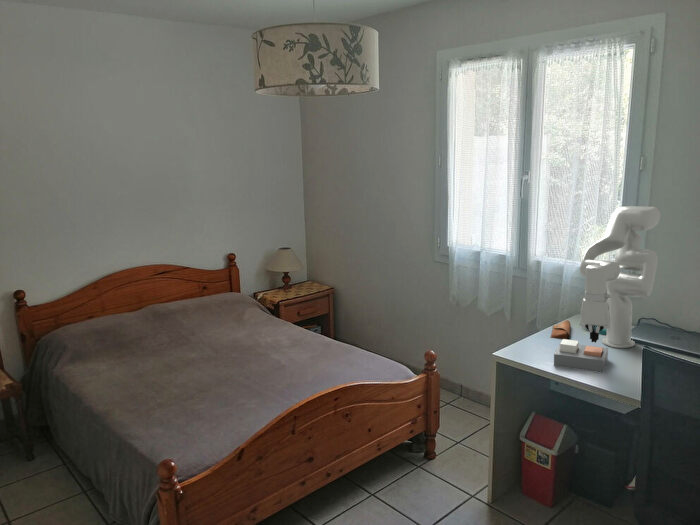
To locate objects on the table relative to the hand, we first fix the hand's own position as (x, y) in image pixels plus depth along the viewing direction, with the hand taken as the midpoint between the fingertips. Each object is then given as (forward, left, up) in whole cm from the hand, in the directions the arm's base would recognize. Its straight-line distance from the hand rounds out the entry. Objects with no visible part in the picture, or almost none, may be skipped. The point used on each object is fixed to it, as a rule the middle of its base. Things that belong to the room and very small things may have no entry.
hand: (594, 341), depth 212 cm
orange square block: (0, 0, -7) cm, 7 cm away
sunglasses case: (-33, -18, -10) cm, 39 cm away
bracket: (-46, -1, -10) cm, 47 cm away
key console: (0, -5, -10) cm, 11 cm away
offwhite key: (0, -9, -5) cm, 10 cm away
